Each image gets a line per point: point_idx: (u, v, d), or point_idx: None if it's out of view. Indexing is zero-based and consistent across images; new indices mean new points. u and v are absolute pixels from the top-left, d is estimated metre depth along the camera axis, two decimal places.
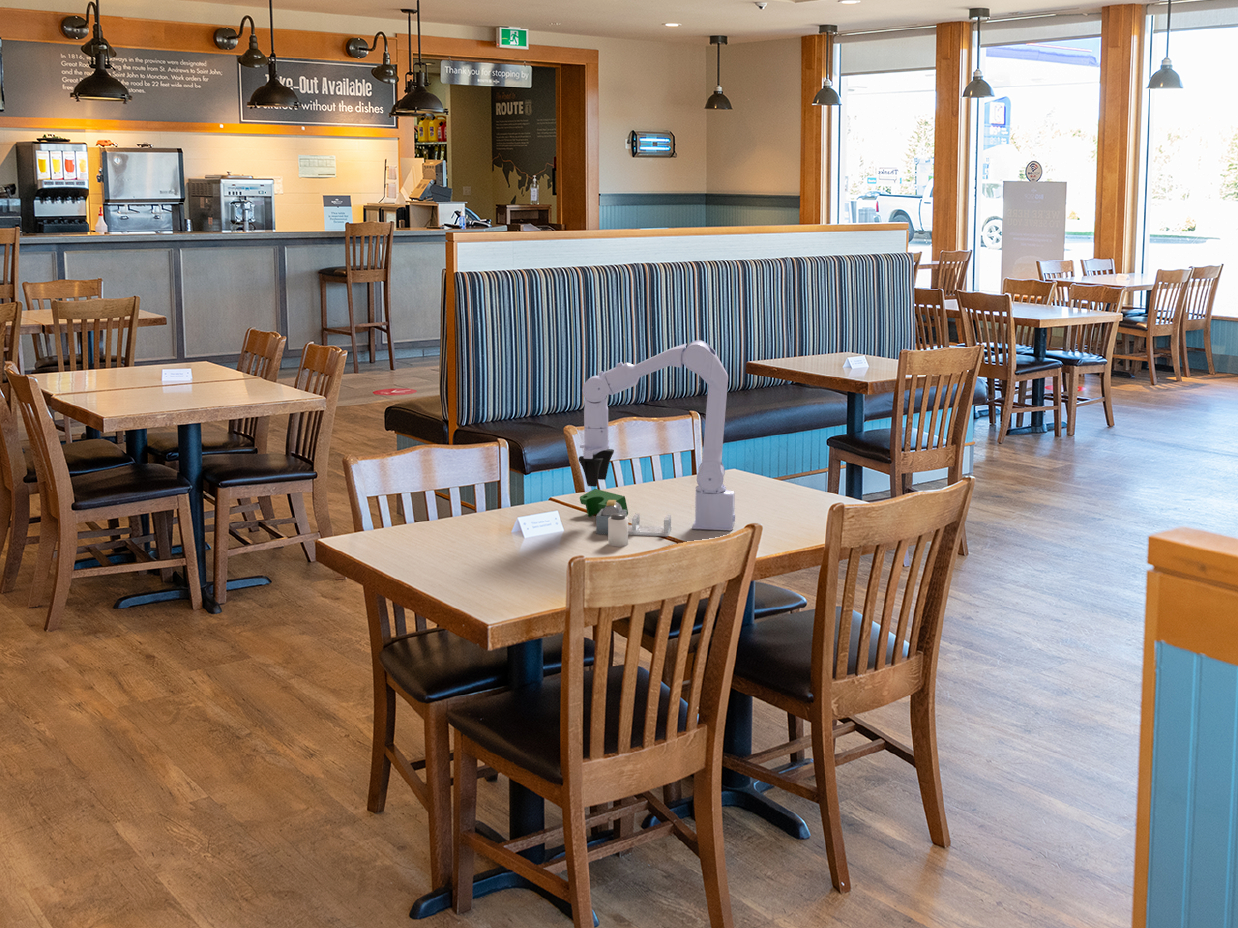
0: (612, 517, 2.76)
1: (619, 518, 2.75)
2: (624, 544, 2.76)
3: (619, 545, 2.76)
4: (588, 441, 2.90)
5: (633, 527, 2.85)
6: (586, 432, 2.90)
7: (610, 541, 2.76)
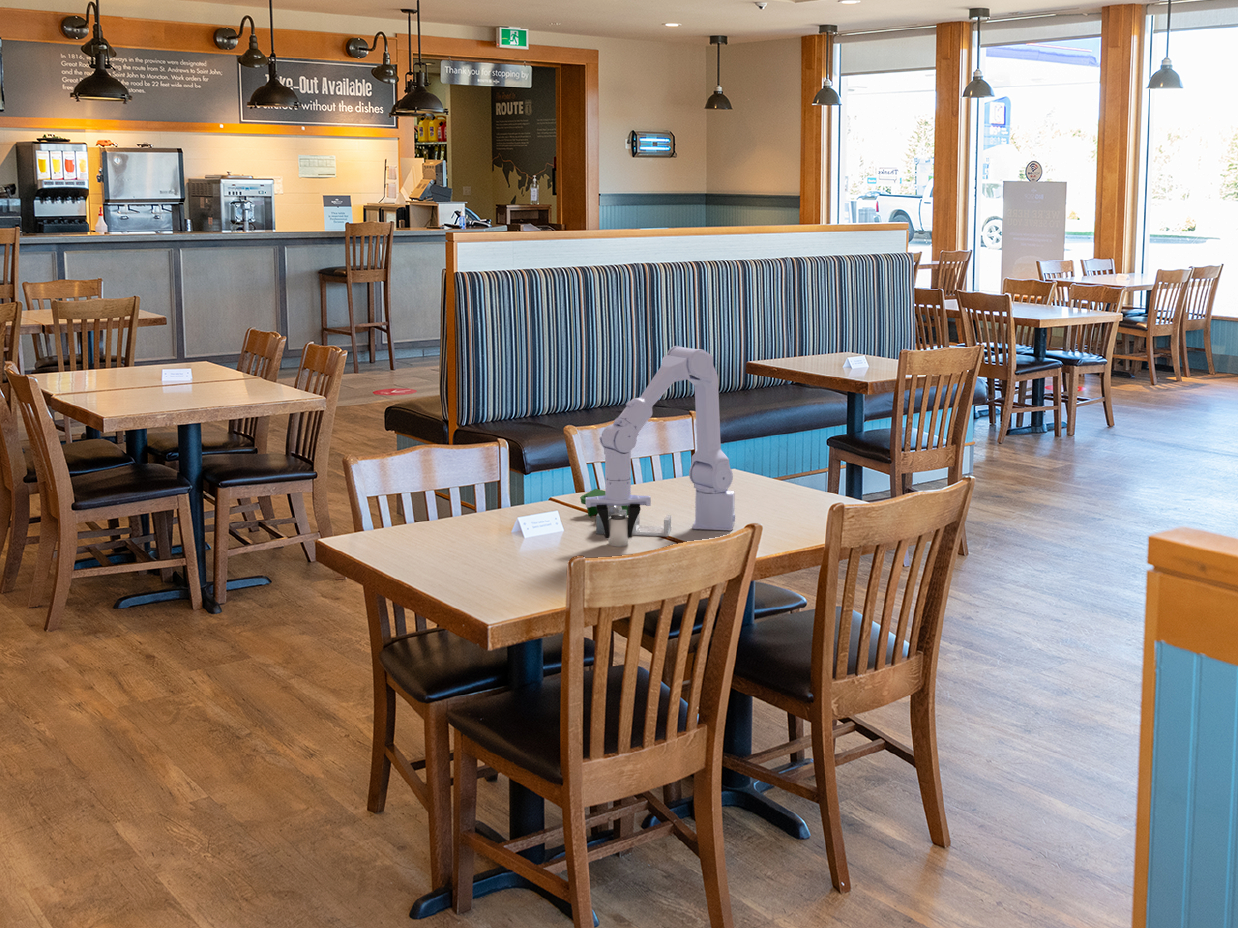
0: (612, 517, 2.76)
1: (619, 518, 2.75)
2: (624, 544, 2.76)
3: (619, 545, 2.76)
4: None
5: (633, 527, 2.85)
6: None
7: (610, 541, 2.76)
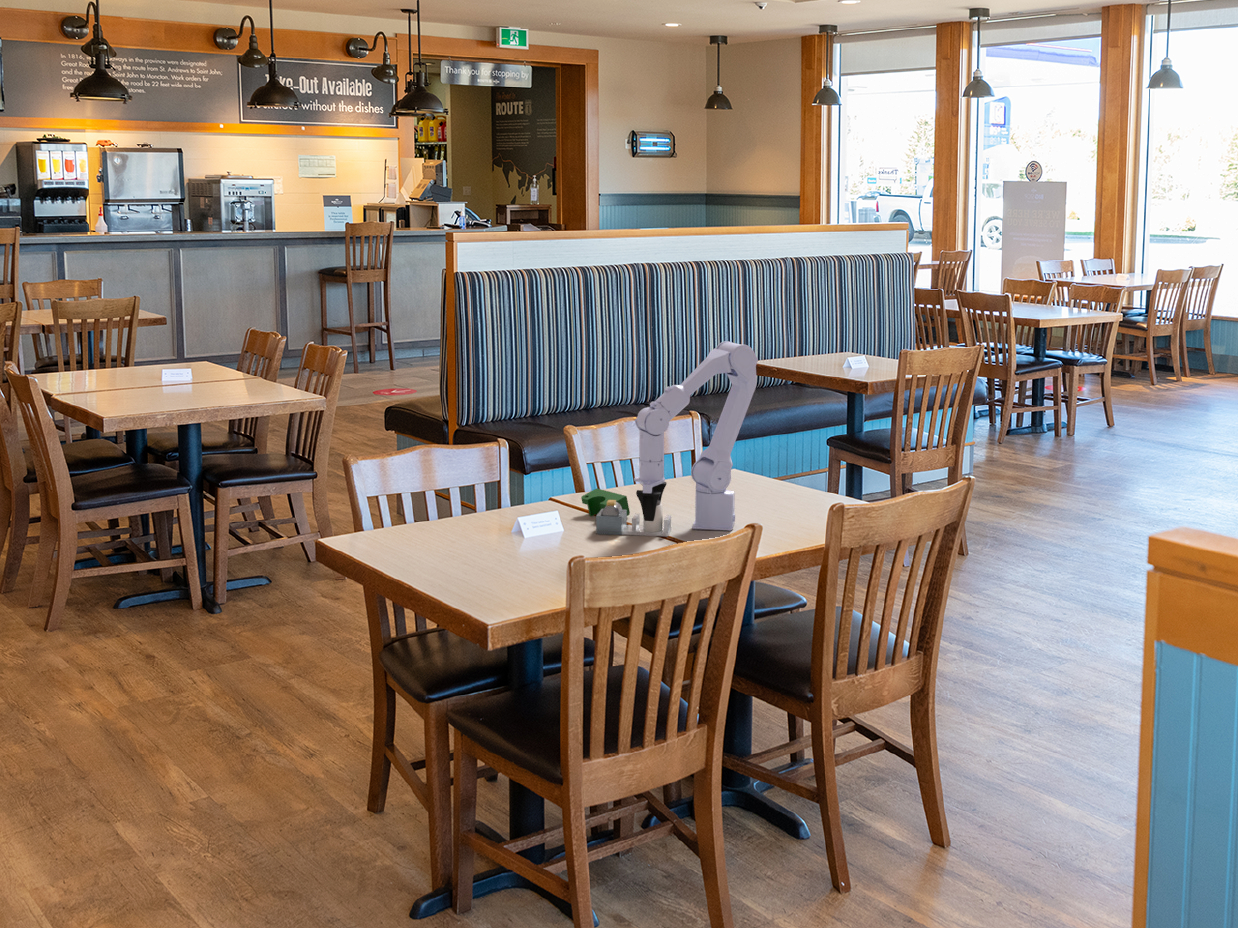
0: None
1: (659, 503, 2.86)
2: None
3: (662, 528, 2.87)
4: (644, 474, 2.82)
5: (633, 527, 2.85)
6: (642, 465, 2.82)
7: (655, 527, 2.85)
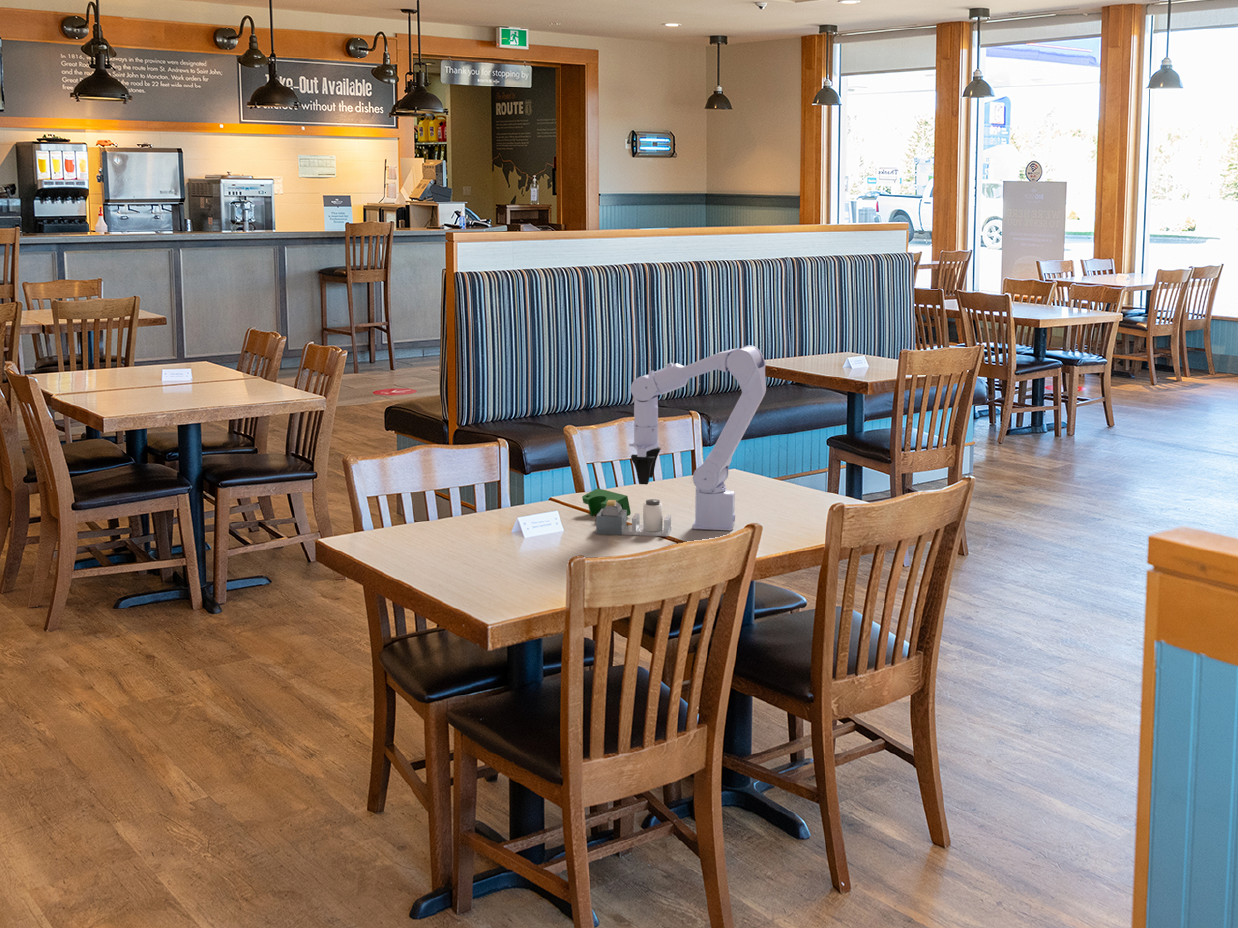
0: (654, 503, 2.85)
1: (659, 502, 2.86)
2: None
3: (662, 528, 2.87)
4: (639, 439, 2.92)
5: (633, 527, 2.85)
6: (637, 431, 2.92)
7: (655, 527, 2.85)
